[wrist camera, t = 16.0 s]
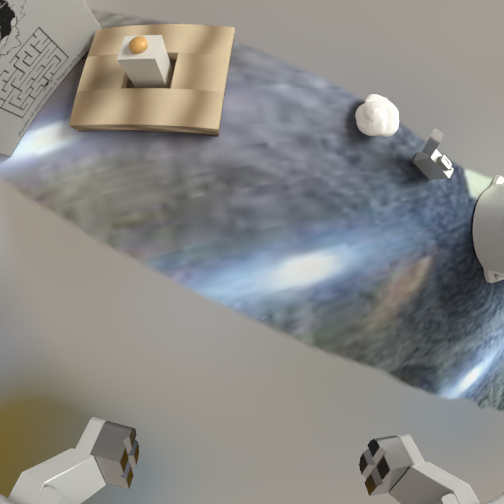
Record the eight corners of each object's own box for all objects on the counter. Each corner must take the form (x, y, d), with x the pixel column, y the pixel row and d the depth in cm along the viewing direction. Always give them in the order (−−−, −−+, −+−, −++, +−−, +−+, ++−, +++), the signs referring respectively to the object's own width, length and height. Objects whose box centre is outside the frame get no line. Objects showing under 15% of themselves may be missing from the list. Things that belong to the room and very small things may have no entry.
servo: (171, 67, 31) (160, 31, 22) (167, 88, 31) (153, 54, 22) (141, 67, 30) (122, 32, 22) (136, 88, 31) (114, 56, 22)
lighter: (435, 171, 37) (471, 166, 29) (430, 180, 37) (467, 177, 29) (402, 138, 36) (437, 126, 28) (397, 147, 36) (433, 136, 28)
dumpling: (377, 150, 36) (393, 145, 32) (345, 130, 35) (358, 121, 31) (392, 110, 35) (408, 102, 31) (362, 89, 34) (375, 79, 30)
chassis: (233, 39, 32) (234, 27, 29) (218, 135, 33) (218, 129, 30) (104, 39, 29) (97, 29, 26) (79, 131, 31) (68, 125, 28)
